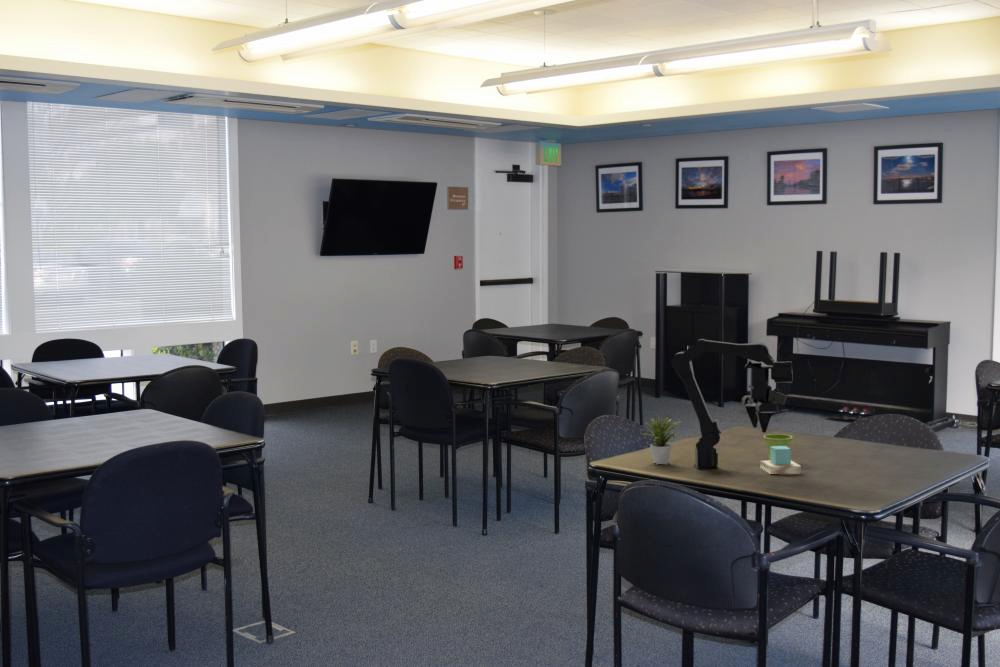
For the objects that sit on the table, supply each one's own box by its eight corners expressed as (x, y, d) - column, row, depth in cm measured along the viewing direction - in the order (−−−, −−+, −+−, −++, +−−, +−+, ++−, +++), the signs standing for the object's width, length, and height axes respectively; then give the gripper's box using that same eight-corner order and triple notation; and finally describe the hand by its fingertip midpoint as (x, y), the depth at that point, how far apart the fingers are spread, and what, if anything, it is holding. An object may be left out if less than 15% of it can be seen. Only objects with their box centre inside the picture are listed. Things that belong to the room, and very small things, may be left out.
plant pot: (767, 464, 334) (767, 439, 333) (760, 459, 344) (760, 434, 343) (795, 464, 334) (795, 438, 333) (788, 458, 343) (788, 433, 343)
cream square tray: (770, 474, 319) (770, 466, 319) (760, 468, 329) (760, 460, 329) (801, 473, 320) (801, 465, 320) (790, 467, 330) (790, 459, 330)
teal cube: (775, 464, 322) (775, 449, 321) (770, 461, 327) (770, 446, 326) (790, 464, 322) (790, 448, 322) (785, 461, 327) (785, 446, 327)
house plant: (679, 469, 329) (679, 419, 328) (637, 467, 334) (637, 418, 332) (685, 460, 343) (685, 413, 341) (645, 458, 347) (645, 411, 346)
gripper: (794, 385, 316) (794, 434, 317) (774, 378, 335) (774, 424, 336) (759, 386, 315) (759, 435, 317) (741, 378, 334) (741, 425, 335)
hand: (759, 429), depth 326 cm, fingers open, 9 cm apart
